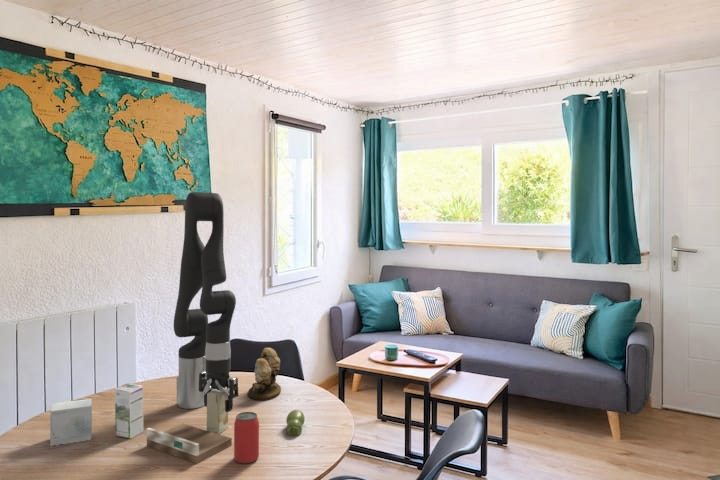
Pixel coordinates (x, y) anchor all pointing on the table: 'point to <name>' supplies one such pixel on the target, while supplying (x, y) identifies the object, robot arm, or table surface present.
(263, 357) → the brown lumpy upright piece
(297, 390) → the table surface
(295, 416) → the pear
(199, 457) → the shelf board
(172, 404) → the table surface
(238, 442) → the beer can
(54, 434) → the skincare box
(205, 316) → the robot arm
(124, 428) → the syrup box
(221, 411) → the skincare box
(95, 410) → the table surface
